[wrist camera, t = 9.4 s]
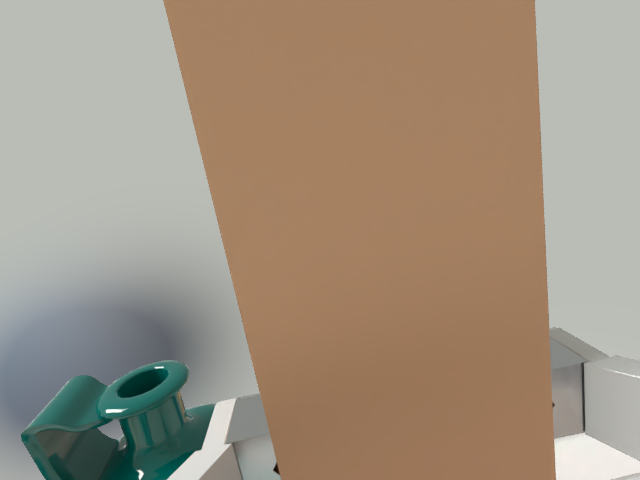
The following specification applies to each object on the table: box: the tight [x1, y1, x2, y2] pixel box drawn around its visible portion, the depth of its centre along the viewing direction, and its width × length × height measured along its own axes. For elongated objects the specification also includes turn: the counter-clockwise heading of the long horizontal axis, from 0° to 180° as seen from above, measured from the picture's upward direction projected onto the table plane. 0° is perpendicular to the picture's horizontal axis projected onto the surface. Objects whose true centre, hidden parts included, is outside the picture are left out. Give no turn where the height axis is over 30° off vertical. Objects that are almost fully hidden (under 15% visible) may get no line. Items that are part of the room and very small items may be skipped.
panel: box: [163, 0, 556, 480], centre depth 9 cm, size 6×2×20 cm, turn 95°
